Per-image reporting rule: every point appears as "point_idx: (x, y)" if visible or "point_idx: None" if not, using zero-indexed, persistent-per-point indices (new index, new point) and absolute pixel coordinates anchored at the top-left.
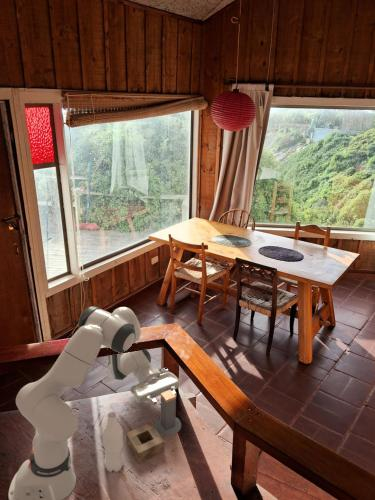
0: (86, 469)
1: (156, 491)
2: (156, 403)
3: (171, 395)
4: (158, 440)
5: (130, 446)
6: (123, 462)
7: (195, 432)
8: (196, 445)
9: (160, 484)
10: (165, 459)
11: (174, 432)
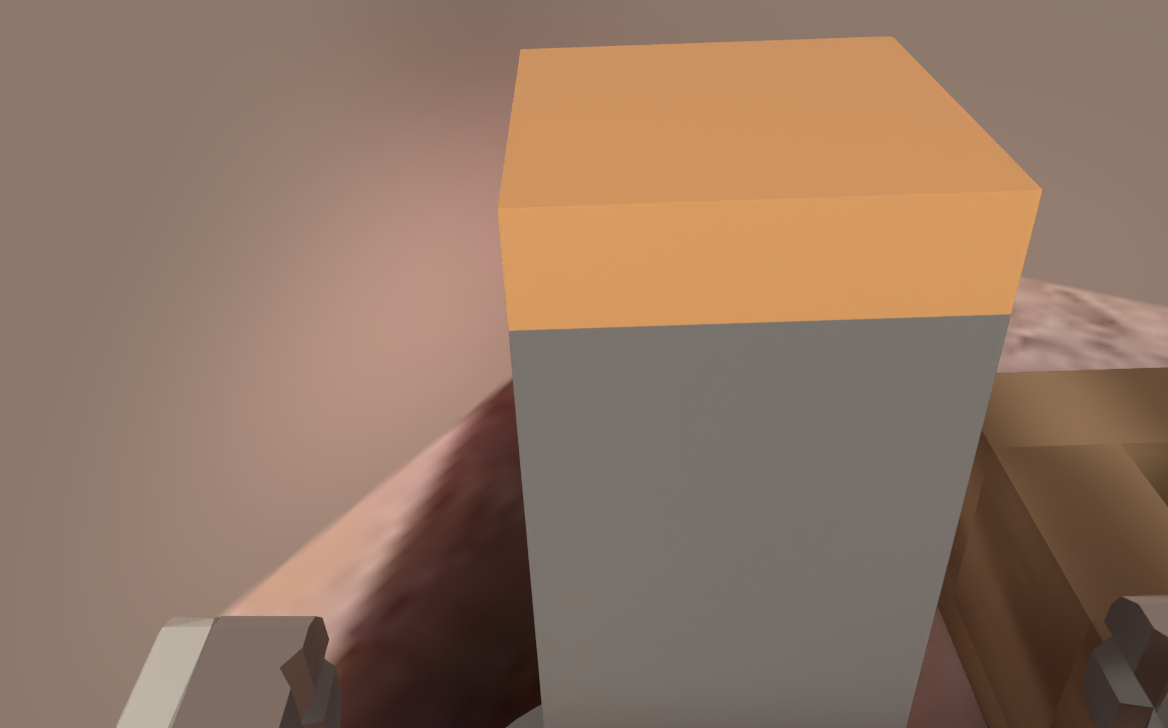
0: None
1: (1075, 306)
2: (1105, 657)
3: (637, 77)
4: (1041, 406)
5: None
6: None
7: (345, 621)
8: (480, 479)
9: (1028, 330)
10: None
11: None
